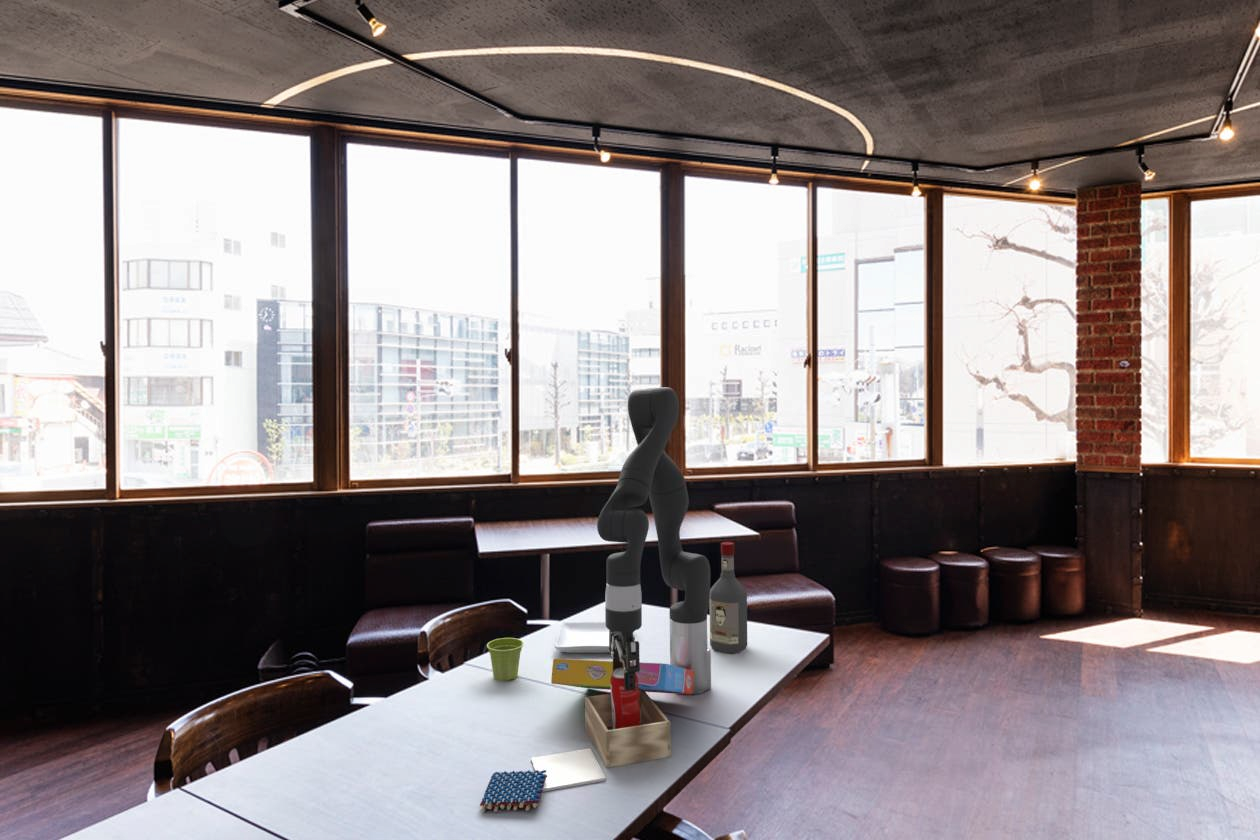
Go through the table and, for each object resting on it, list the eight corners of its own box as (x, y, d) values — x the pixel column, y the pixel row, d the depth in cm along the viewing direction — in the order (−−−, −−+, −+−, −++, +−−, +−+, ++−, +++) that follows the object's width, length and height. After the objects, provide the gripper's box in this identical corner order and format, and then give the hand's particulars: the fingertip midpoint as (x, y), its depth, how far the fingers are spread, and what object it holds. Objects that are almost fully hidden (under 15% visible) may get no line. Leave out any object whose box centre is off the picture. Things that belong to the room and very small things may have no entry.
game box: (549, 683, 160) (665, 690, 150) (552, 657, 162) (666, 662, 152) (588, 688, 178) (693, 694, 168) (590, 665, 180) (694, 670, 170)
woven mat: (491, 780, 135) (491, 769, 134) (548, 778, 134) (547, 767, 134) (478, 813, 124) (477, 801, 124) (539, 811, 124) (538, 799, 124)
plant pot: (528, 670, 190) (527, 638, 189) (519, 684, 180) (518, 650, 180) (493, 669, 190) (492, 637, 190) (482, 683, 181) (482, 649, 181)
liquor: (722, 640, 210) (721, 539, 210) (750, 646, 205) (749, 542, 204) (706, 649, 203) (705, 544, 202) (735, 656, 198) (734, 548, 197)
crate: (643, 720, 159) (642, 688, 159) (670, 756, 143) (670, 721, 143) (585, 729, 155) (584, 697, 155) (606, 767, 139) (606, 732, 139)
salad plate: (630, 657, 199) (630, 645, 199) (553, 657, 199) (553, 645, 199) (631, 632, 220) (631, 621, 220) (562, 633, 221) (561, 622, 221)
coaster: (589, 750, 146) (589, 748, 146) (605, 780, 134) (605, 777, 134) (531, 760, 142) (531, 757, 142) (542, 791, 131) (542, 789, 131)
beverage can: (644, 737, 151) (643, 666, 151) (634, 751, 145) (633, 678, 144) (618, 733, 153) (616, 663, 153) (607, 747, 147) (606, 675, 146)
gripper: (651, 612, 143) (652, 693, 143) (630, 594, 156) (631, 668, 156) (615, 615, 140) (615, 698, 141) (597, 597, 154) (597, 672, 154)
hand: (623, 682), depth 149 cm, fingers open, 8 cm apart
